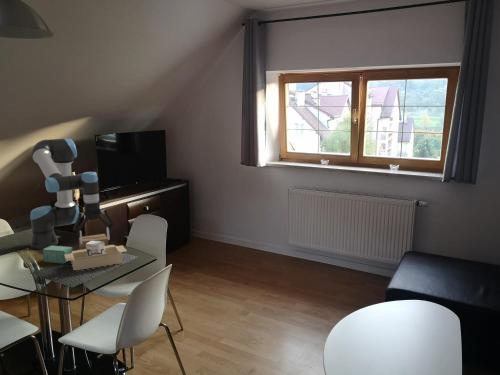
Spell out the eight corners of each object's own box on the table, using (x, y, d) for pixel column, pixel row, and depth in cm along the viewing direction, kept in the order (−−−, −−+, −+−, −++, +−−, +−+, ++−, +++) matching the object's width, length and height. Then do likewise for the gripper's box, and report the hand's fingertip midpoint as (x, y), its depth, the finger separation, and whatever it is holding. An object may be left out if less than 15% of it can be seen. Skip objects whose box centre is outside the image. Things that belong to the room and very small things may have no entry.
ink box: (87, 264, 220) (85, 243, 218) (93, 261, 225) (91, 240, 223) (100, 266, 218) (98, 244, 216) (106, 262, 222) (104, 241, 220)
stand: (80, 254, 236) (78, 237, 234) (105, 250, 243) (104, 233, 241) (82, 259, 228) (80, 242, 226) (108, 255, 234) (107, 238, 232)
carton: (64, 263, 222) (63, 249, 221) (121, 253, 236) (120, 240, 235) (67, 274, 206) (66, 260, 205) (129, 263, 220) (128, 249, 219)
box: (65, 264, 221) (64, 250, 220) (43, 262, 224) (41, 249, 223) (74, 259, 228) (72, 246, 227) (52, 258, 231) (51, 245, 230)
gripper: (66, 206, 206) (70, 247, 210) (117, 200, 218) (120, 239, 221) (64, 203, 213) (68, 243, 216) (115, 198, 224) (118, 236, 228)
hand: (95, 241), depth 219 cm, fingers open, 13 cm apart
